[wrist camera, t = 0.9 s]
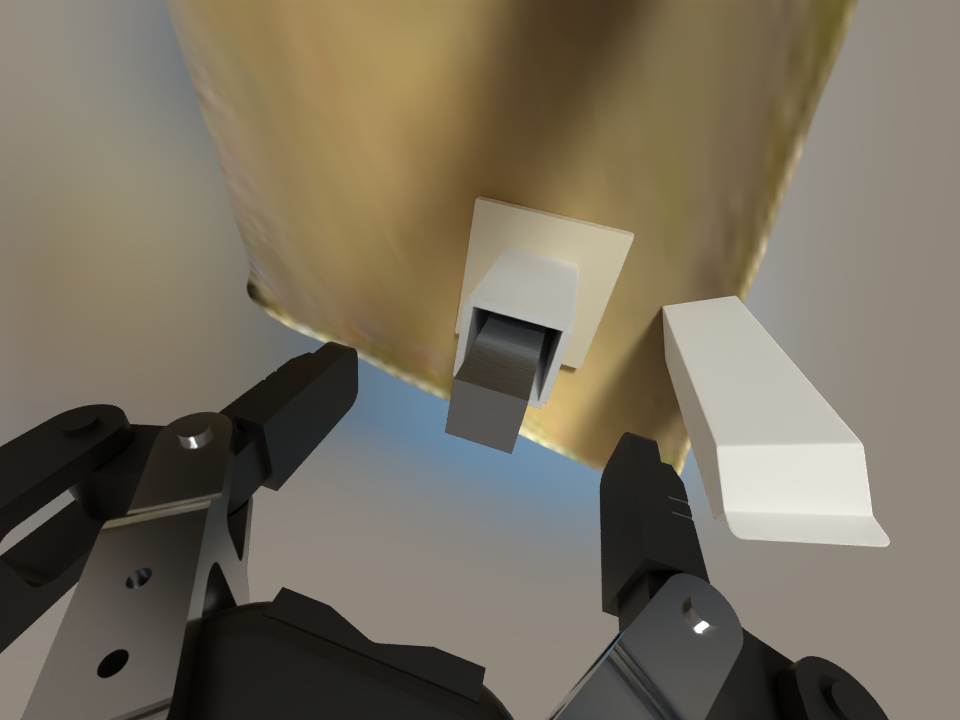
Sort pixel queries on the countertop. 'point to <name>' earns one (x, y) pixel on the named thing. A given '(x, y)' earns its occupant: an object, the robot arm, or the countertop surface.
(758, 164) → the countertop surface
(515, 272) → the sleeve stand
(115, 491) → the robot arm
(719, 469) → the milk
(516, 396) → the steel post
